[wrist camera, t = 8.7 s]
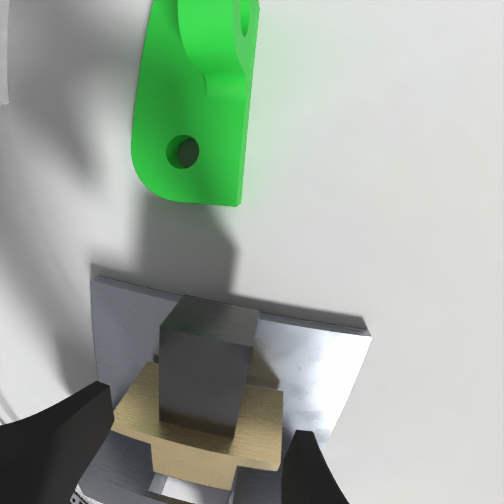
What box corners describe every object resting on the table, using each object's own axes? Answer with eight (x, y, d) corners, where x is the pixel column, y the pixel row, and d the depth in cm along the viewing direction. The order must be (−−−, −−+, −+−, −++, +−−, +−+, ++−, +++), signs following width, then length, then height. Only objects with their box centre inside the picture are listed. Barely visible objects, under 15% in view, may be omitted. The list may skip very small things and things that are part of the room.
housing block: (299, 482, 23) (298, 546, 16) (115, 440, 24) (83, 494, 17) (367, 329, 19) (402, 407, 11) (98, 275, 20) (27, 322, 12)
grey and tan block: (267, 442, 20) (260, 507, 14) (149, 415, 20) (119, 471, 15) (306, 308, 17) (314, 373, 11) (149, 277, 17) (95, 323, 12)
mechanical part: (164, 14, 15) (105, -49, 7) (259, 10, 14) (243, -72, 7) (143, 195, 18) (60, 215, 10) (241, 202, 18) (208, 228, 10)
